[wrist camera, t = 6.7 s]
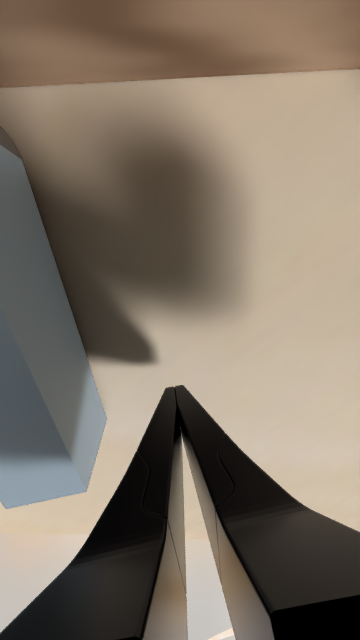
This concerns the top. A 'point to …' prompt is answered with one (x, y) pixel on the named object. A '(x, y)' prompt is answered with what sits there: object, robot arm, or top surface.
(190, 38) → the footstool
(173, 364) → the top surface
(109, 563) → the robot arm
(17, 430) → the bar
